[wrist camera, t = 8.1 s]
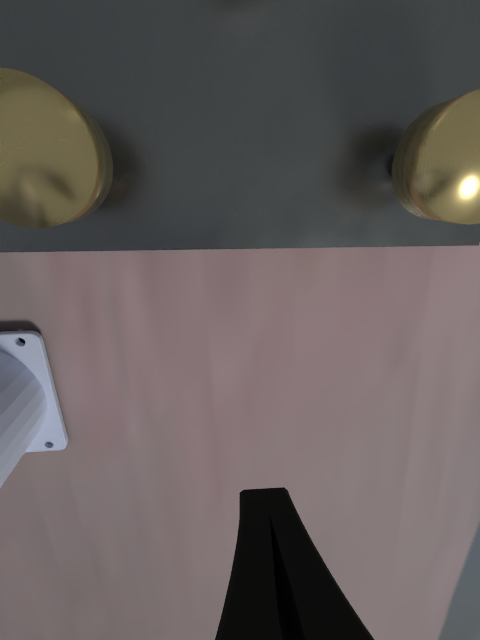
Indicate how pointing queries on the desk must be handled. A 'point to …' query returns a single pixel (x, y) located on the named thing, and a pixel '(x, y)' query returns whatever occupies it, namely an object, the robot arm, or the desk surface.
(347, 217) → the plate
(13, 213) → the inner brass knob
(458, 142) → the outer brass knob
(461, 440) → the desk surface
